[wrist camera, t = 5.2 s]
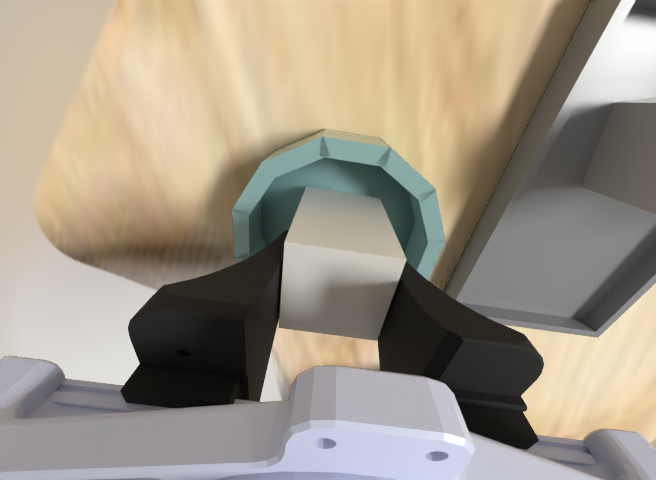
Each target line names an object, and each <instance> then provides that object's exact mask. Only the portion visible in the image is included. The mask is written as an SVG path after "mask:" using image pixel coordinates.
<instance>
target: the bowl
mask: <svg viewBox="0 0 656 480" xmlns="http://www.w3.org/2000/svg"><path fill="white" fill-rule="evenodd" d="M306 186H307V187H313V188H320V189H326V190H333V191H339V192H345V193H352V194H358V195H365V196H371V197H378V198H380V200H381V202H382V204H383V207H384V209H385V211H386V213H387V216H388V218H389V220H390V223H391V225H392V227H393V229H394V232H395V234H396V236H397V239H398V241H399V243H400V245H401V248H402V250H403V252H404V254H405V257H406V259H407V260H406V261H407V262H408V263H409V264H410V265H411V266H412V267H413V268H414V269H415V270H416V271H418V272H419V273H420V274H421V275H422V276H423V277H424V278H426V279H427V280H428V279H429V277H430V274H431V272H432V270H433V268H434V266H435V263H436V261H437V259H438V257H439V254H440V252H441V250H442V248H443V246H444V243H445V236H444V231H443V226H442V220H441V215H440V210H439V204H438V199H437V194H436V189H435V188H434V187H433V186H432V185H431V184H430V183H429V182H427V181H426V180H425V179H424V178H423V177H422V176H421V175H420V174H419V173H418V172H416V171H415V170H414V169H413V168H412V167H411V166H410V165H409V164H408V163H406V162H405V161H404V160H403V159H402V158H401V157H400V156H399V155H398V154H397V153H396V152H395V151H394V150H392V149H391V147H390V146H389V145H388V144H386V143H385V142H384V141H383V140H382V139H381V138H378V137H372V136H366V135H360V134H353V133H347V132H341V131H335V130H329V129H325V130H322V131H320V132H318V133H315V134H313V135H311V136H308V137H306V138H304V139H301V140H299V141H297V142H294V143H292V144H290V145H287V146H285V147H283V148H281V149H278V150H276V151H275V152H274V153H272V154H271V155H270V156H269V157H267V158H266V159H265V160H264V161H262V162H261V164H260V166H259V168H258V169H257V171H256V172H255V174H254V175H253V177H252V179H251V180H250V182H249V183H248V185H247V186H246V188H245V190H244V191H243V193H242V194H241V196H240V197H239V199H238V201H237V202H236V204H235V205H234V207H233V208H232V221H233V239H234V258H235V259H236V261H237V262H238V263H239V262H241V261H243V260H245V259H247V258H249V257H250V256H252V255H254V254H255V253H257V252H258V251H260V250H261V249H263V248H264V247H266V246H267V245H268V244H270V243H271V242H272V241H274V240H275V239H276V238H277V237H278V236H280V235H281V234H282V233H283V232H284V231H286V230H289V229H290V227H291V224H292V222H293V219H294V216H295V214H296V211H297V209H298V206H299V204H300V201H301V199H302V196H303V193H304V191H305V188H306Z"/></svg>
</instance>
